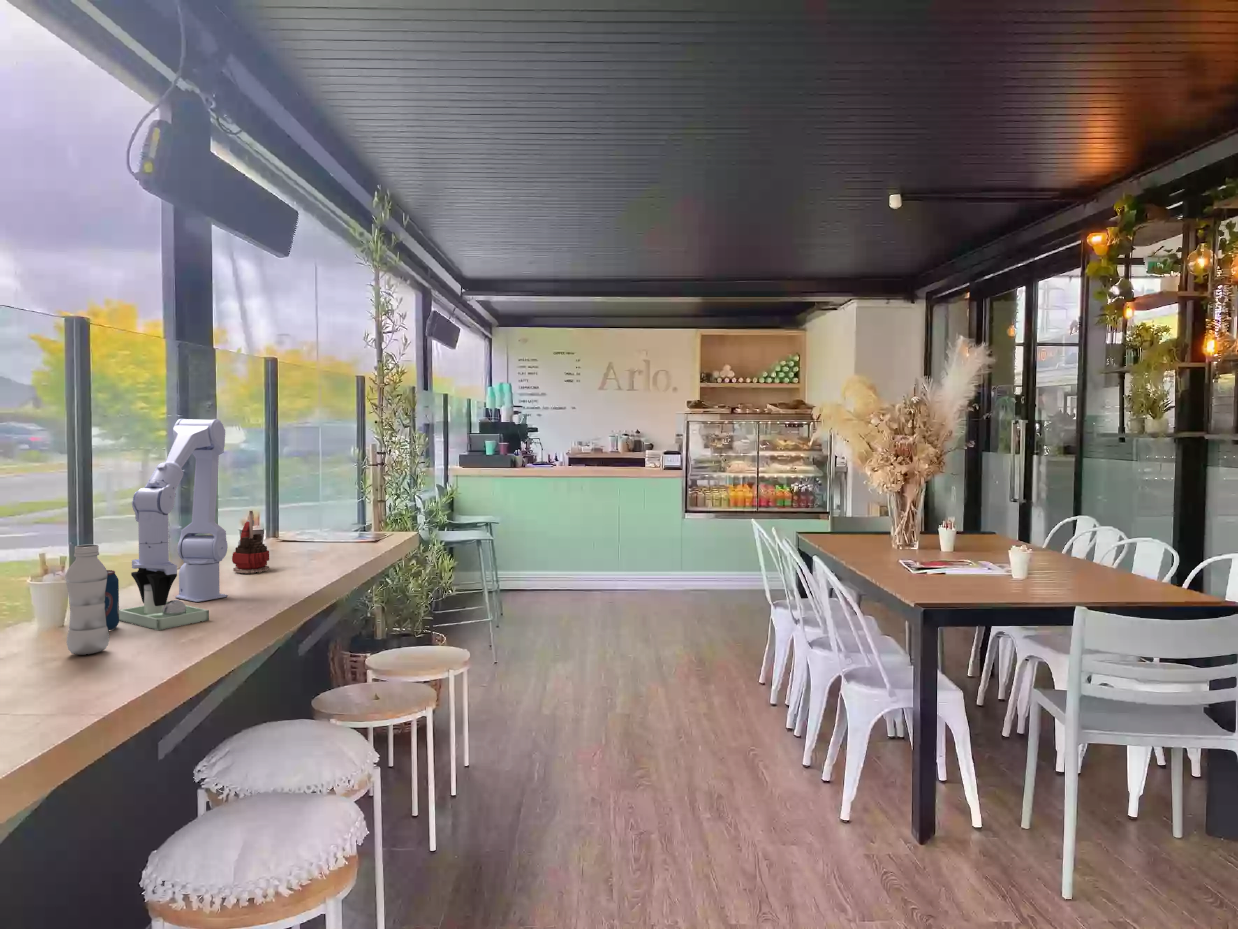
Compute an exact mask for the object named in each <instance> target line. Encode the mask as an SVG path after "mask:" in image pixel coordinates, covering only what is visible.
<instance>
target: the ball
mask: <svg viewBox="0 0 1238 929" xmlns="http://www.w3.org/2000/svg"><path fill="white" fill-rule="evenodd" d="M185 605H186V604H185V603H184V602H183V601H181V600H178V599H173V600H170V601H169V602H168V601H167V603H166V604H165V605H164V607H163V609H162V615H163V617H164V618H166V617H172V616H177V615H182V614H186V606H185Z"/></svg>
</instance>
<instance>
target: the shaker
mask: <svg viewBox="0 0 1238 929" xmlns="http://www.w3.org/2000/svg"><path fill="white" fill-rule="evenodd" d="M143 606H144V613H146V614H156V613H162V609H163V607H164V605H161V606H155V604H154V601H153V592H152V587H151V584H145V585H144V603H143Z"/></svg>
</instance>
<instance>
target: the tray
mask: <svg viewBox="0 0 1238 929" xmlns="http://www.w3.org/2000/svg"><path fill="white" fill-rule="evenodd" d="M167 602H169V601H168V600H167ZM167 602H166V603H167ZM185 606H186V614H182V615H177V616H172V617H166V618H164V617H163V615H162V613H156V614H146V613H144V605H139V606H132V607H128V608H121V609H119V622H123V621H124V623H128V624H131V623H133V624H132V625H135V624H136V625H135V626H139V625H141V626H140V627H142V628H143V627H144V628H147V629H151V628H152V629H151V630H156V631H161V630H166V629H165V628H167V629H171V628H172V629H173V628H176V627H177V628H178V627H181V625H182V626H187V625H191V624H190V623H192V624H196V623H201V622H200V621H202V622H207V621H210V610H209V609H205V608H201V607H196V606H190V605H187V604H185Z"/></svg>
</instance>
